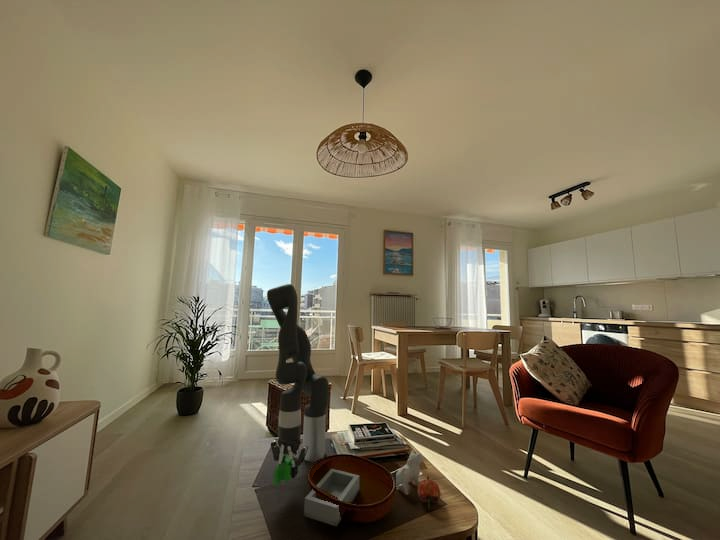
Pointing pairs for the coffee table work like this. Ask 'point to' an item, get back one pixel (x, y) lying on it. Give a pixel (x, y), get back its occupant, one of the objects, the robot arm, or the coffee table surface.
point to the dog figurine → (409, 471)
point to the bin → (338, 486)
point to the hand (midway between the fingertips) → (288, 475)
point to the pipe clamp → (283, 472)
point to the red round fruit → (429, 491)
